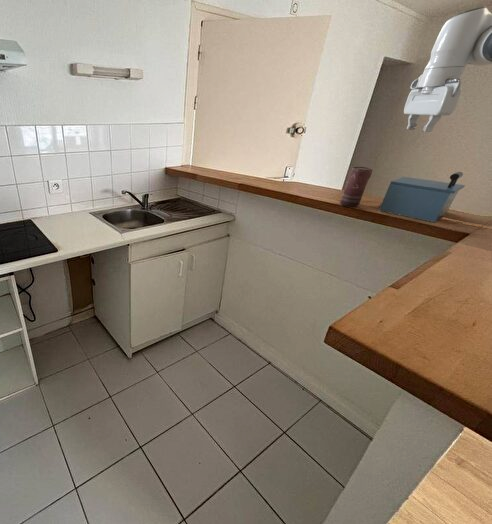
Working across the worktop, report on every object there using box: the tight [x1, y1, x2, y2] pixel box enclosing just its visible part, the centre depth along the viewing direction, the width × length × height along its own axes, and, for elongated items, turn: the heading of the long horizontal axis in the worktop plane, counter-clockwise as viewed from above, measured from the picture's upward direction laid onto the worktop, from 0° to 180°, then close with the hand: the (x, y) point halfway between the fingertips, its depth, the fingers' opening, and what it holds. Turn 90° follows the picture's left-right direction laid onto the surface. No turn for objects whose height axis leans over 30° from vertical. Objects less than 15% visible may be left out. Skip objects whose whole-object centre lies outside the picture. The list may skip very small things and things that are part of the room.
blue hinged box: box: [378, 183, 459, 223], centre depth 99 cm, size 16×13×10 cm
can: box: [339, 166, 373, 208], centre depth 106 cm, size 6×6×14 cm
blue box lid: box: [389, 171, 465, 194], centre depth 95 cm, size 16×13×5 cm
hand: (418, 130), depth 91 cm, fingers open, 8 cm apart
